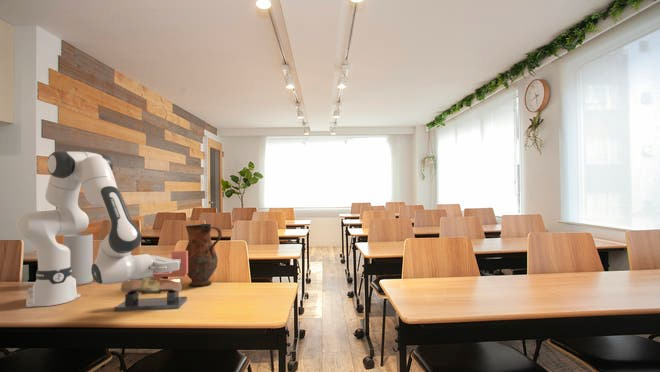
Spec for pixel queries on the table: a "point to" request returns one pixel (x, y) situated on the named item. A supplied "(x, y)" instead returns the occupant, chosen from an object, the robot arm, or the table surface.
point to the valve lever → (182, 270)
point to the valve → (151, 288)
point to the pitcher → (201, 254)
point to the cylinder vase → (80, 256)
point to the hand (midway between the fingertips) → (179, 260)
